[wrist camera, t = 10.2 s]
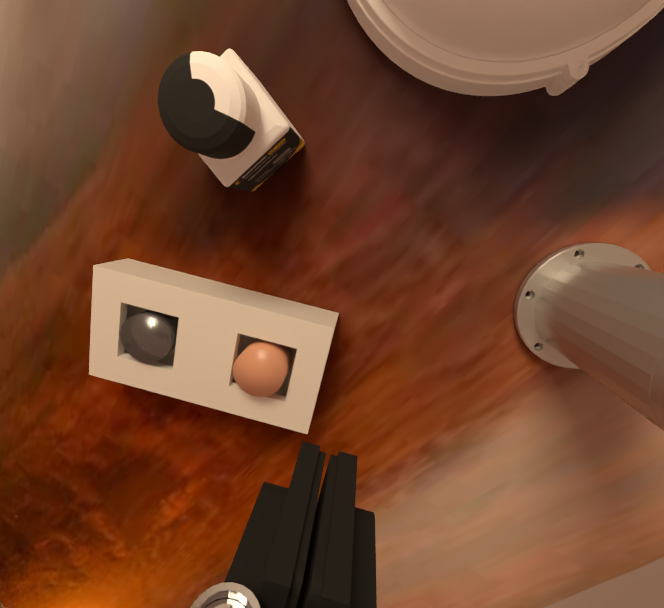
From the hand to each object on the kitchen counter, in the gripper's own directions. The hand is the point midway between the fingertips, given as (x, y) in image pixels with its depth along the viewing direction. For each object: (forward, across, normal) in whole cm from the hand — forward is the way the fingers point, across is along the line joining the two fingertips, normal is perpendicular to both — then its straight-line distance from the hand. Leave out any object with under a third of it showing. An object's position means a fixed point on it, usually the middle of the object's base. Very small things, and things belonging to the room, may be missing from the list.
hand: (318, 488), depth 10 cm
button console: (+27, +13, +9) cm, 31 cm away
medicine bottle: (+27, +13, -12) cm, 33 cm away
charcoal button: (+26, +19, +9) cm, 33 cm away
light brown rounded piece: (+25, +7, +9) cm, 27 cm away
